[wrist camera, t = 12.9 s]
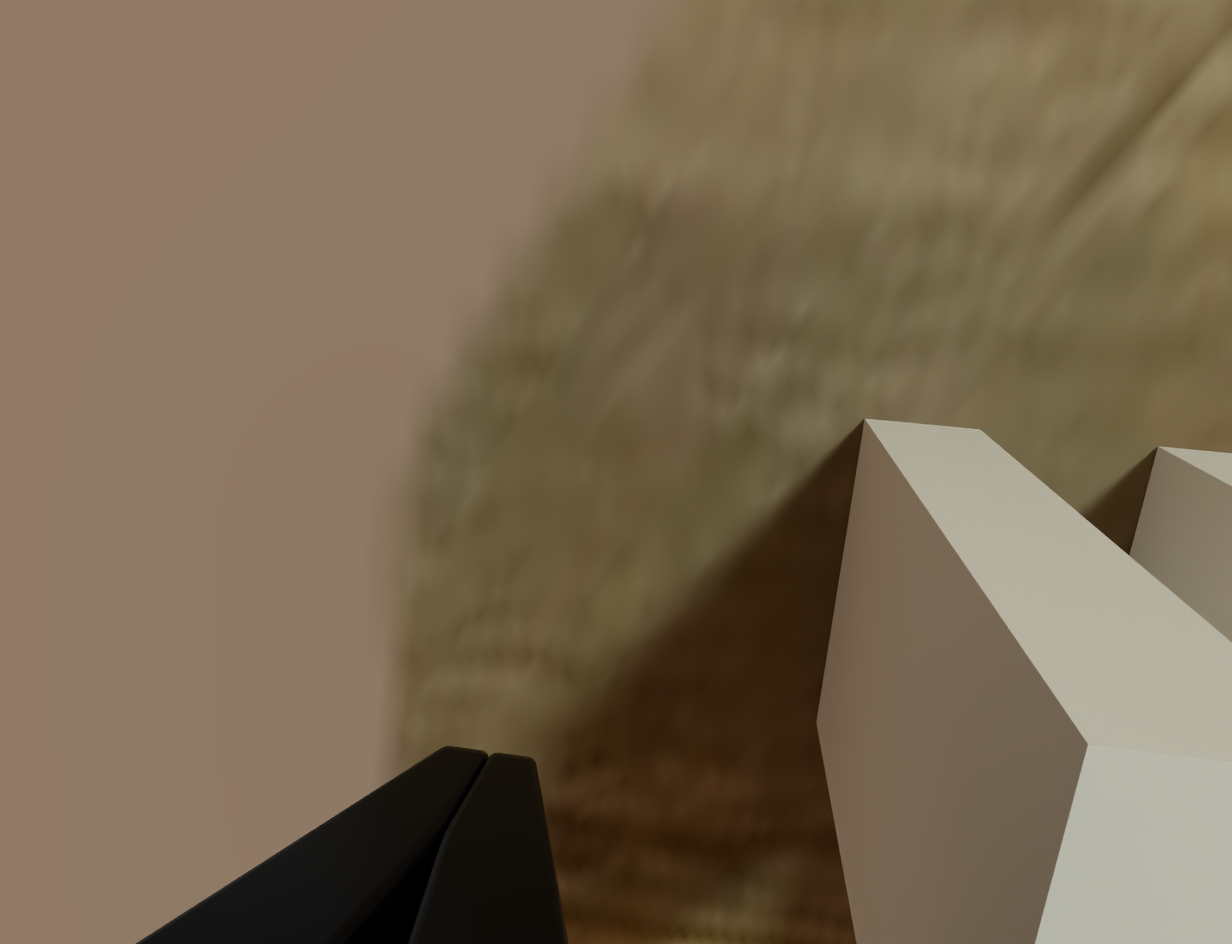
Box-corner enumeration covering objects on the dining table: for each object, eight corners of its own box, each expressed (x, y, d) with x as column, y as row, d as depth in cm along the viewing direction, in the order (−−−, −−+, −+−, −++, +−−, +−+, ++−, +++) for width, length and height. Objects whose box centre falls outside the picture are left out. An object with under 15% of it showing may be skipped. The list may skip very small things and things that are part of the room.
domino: (979, 429, 12) (1397, 782, 5) (919, 735, 14) (1162, 1385, 6) (865, 418, 12) (1087, 744, 5) (816, 722, 14) (928, 1339, 6)
